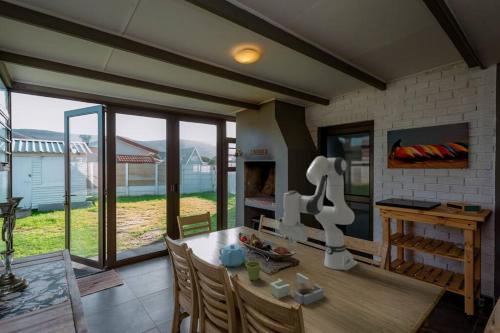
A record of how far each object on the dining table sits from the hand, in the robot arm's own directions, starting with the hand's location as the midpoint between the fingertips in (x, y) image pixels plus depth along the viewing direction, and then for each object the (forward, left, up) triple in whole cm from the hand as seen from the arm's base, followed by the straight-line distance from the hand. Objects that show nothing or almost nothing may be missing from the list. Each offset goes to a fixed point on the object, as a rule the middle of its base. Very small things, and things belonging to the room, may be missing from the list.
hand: (293, 245), depth 136 cm
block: (+2, +10, -24) cm, 26 cm away
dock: (0, +12, -23) cm, 26 cm away
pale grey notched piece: (+3, 0, -23) cm, 24 cm away
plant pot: (+12, -23, -24) cm, 35 cm away
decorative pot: (+13, -50, -24) cm, 57 cm away
